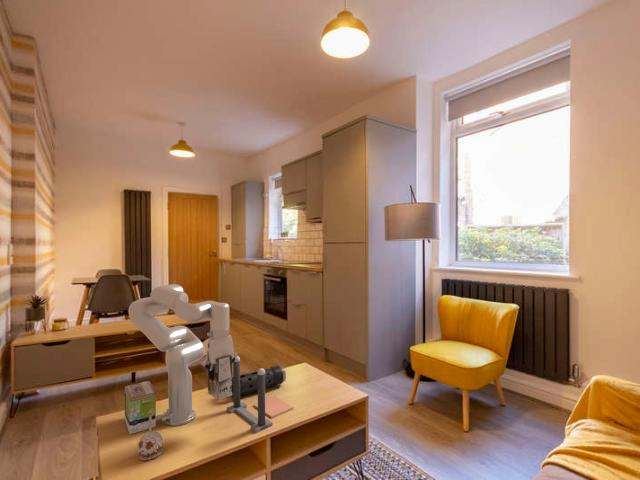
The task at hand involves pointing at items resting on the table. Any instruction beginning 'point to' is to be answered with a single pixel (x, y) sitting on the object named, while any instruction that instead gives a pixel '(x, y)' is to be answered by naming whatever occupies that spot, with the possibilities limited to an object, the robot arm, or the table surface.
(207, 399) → the table surface
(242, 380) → the muzzle brake
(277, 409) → the terracotta tile
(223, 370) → the coffee box
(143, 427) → the tea box
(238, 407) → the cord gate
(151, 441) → the decorative ornament
